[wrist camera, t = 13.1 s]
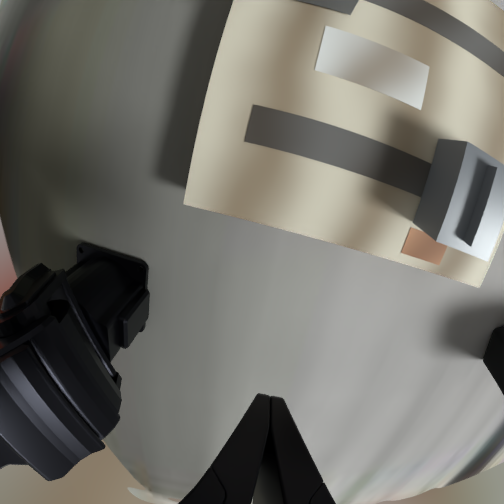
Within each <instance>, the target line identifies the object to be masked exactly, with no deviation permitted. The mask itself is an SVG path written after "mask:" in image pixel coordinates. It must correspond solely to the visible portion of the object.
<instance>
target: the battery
mask: <svg viewBox="0 0 504 504" xmlns="http://www.w3.org/2000/svg"><path fill="white" fill-rule="evenodd" d="M483 362H484V363H485V365H486V367H487V368H488V370H489V371H490V373H491V375H492V376H493V378H494V379H495V381H496V383H497V384H498V386H499V388H500V389H501V391H502V393H503V395H504V327H500V328H497V329H495V330H494V332H493V335H492V337H491V340H490V343H489V346H488V348H487V351H486V353H485V356H484V359H483Z"/></svg>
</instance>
